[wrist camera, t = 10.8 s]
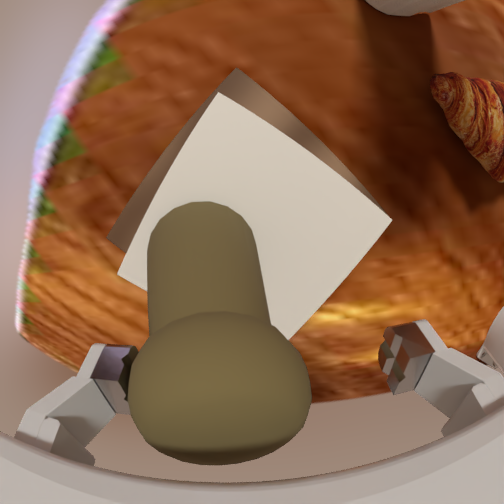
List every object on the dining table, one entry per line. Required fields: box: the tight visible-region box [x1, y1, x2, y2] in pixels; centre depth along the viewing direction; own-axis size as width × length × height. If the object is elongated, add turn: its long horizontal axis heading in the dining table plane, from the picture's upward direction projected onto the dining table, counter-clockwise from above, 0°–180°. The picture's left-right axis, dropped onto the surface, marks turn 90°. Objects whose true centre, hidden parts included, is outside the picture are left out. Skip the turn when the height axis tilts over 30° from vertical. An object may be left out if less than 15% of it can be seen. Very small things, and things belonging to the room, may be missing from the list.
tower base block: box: [106, 67, 387, 253], centre depth 22 cm, size 15×15×5 cm
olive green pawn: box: [127, 201, 312, 465], centre depth 11 cm, size 6×6×11 cm
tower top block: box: [117, 92, 392, 340], centre depth 18 cm, size 12×12×4 cm
